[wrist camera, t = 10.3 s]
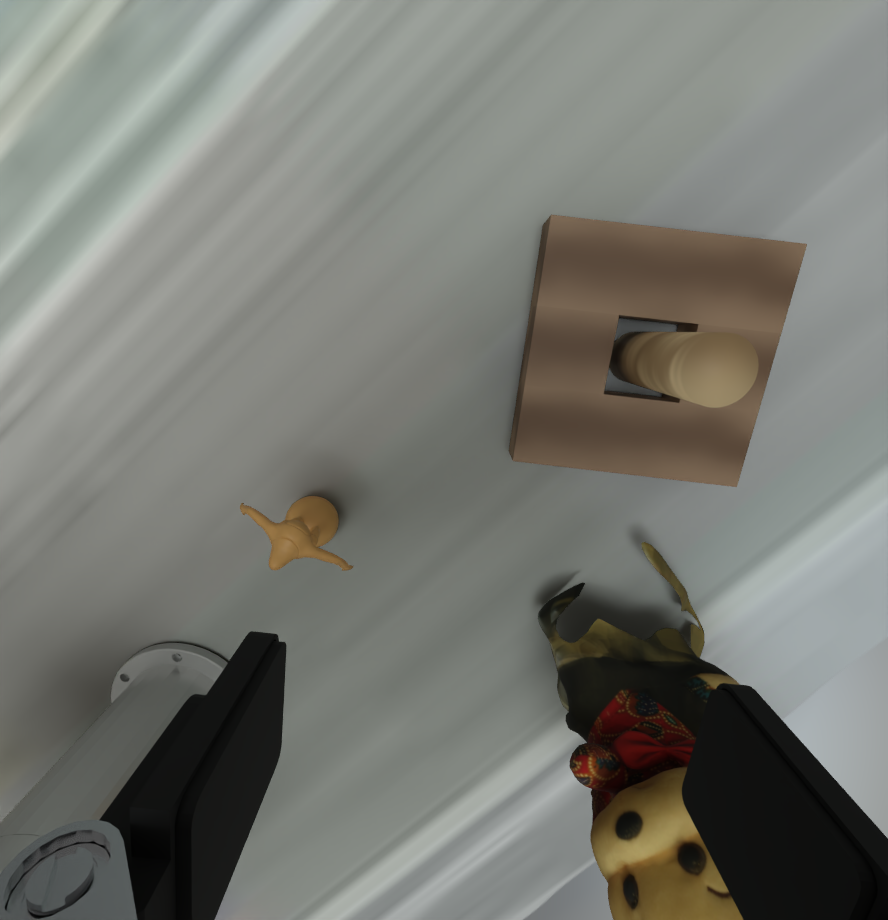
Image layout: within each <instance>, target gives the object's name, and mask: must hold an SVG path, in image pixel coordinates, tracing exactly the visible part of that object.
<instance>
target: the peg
mask: <svg viewBox="0 0 888 920" xmlns="http://www.w3.org/2000/svg"><path fill="white" fill-rule="evenodd" d="M758 366H759V363H758V356H757V353H756V350H755V349H754V347H753V345H752V344H751V343H750V342H749V341H748V340H747V339H746V338H744V337H742V336H740V335H738V334H735V333H728V332H630V333H626V334H624V335H622V336H621V337H619V338H618V339H617V340H616V341H615V342H614V344H613V349H612V354H611V359H610V364H609V367H610V370H611V372H612V373H613V374H614V375H615V376H616V377H617V378H618V379H620V380H622V381H625V382H628V383H631V384H635V385H638V386H641V387H644V388H647V389H651V390H654V391H657V392H660V393H663V394H667V395H670V396H673V397H676V398H680V399H683V400H686V401H689V402H692V403H696V404H699V405H702V406H705V407H710V408H719V407H725V406H728V405H731V404H733V403H735V402H736V401H738V400H740V399H741V398H742V397H743V396H744V395H745V394H746V393H747V392H748V391H749V390H750V389H751V387H752V386H753V384H754V382H755V380H756V377H757V373H758Z"/></svg>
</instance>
